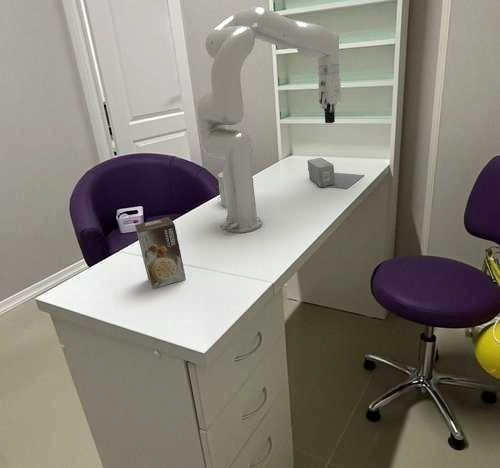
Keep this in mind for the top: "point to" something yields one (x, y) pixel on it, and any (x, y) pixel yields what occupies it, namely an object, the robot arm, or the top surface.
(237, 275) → the top surface
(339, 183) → the mat
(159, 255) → the coffee box
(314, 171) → the skincare box
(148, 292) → the top surface
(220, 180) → the toilet paper roll
